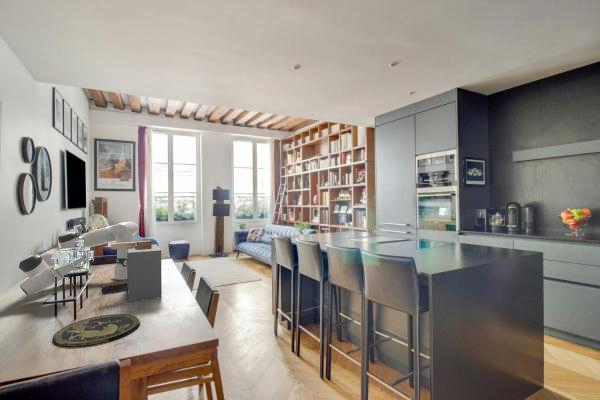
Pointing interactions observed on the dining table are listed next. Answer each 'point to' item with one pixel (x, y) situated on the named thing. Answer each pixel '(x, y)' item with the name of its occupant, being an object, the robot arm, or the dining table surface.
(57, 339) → the decorative plate
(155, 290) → the grey upright box
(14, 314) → the dining table surface
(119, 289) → the tablet
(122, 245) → the birch lath
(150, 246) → the walnut offcuts
